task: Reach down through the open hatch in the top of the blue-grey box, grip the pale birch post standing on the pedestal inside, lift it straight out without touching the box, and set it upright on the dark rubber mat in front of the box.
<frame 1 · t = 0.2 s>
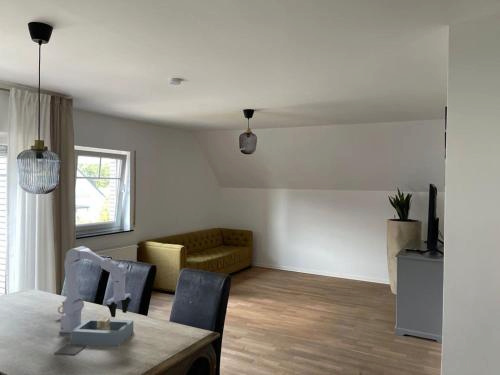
hand: (118, 314, 199), 10 cm above the table, tool pointing down, fingers open, 7 cm apart
teacup with lid: (68, 316, 225), on the table
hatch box: (103, 337, 194), on the table
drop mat: (70, 350, 179), on the table
birch post: (103, 333, 194), point 2 cm above the table, touching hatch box
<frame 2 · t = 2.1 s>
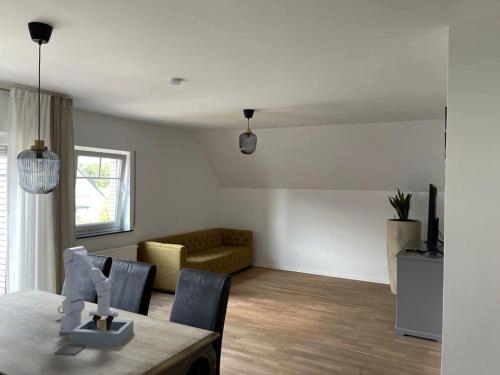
hand: (103, 330, 194), 4 cm above the table, tool pointing down, fingers closed on birch post, 4 cm apart
birch post: (103, 333, 194), point 2 cm above the table, touching gripper, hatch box
everything else where it was.
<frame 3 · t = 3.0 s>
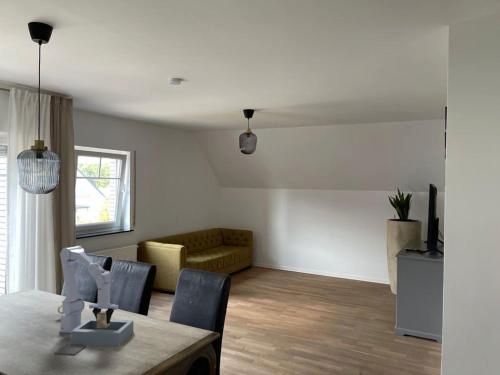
hand: (103, 323, 194), 7 cm above the table, tool pointing down, fingers closed on birch post, 4 cm apart
birch post: (103, 326, 194), point 6 cm above the table, touching gripper
everything else where it was.
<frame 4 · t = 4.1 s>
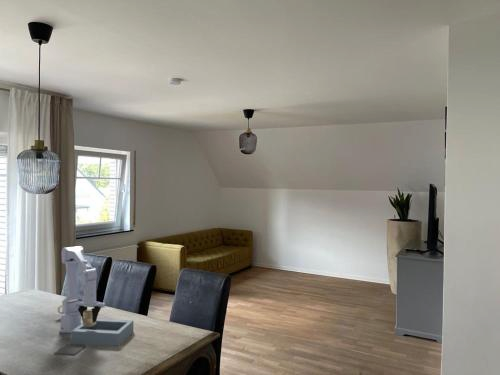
hand: (89, 321, 187), 10 cm above the table, tool pointing down, fingers closed on birch post, 4 cm apart
birch post: (89, 324, 187), point 9 cm above the table, touching gripper
everything else where it was.
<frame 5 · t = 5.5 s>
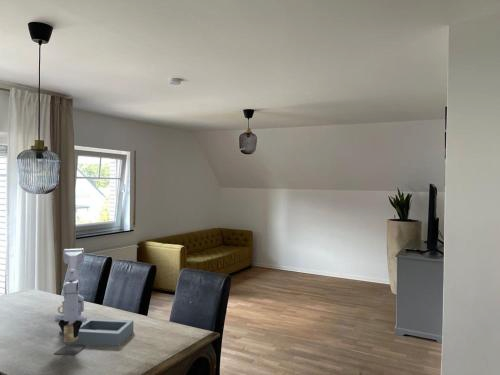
hand: (70, 336, 179), 6 cm above the table, tool pointing down, fingers closed on birch post, 4 cm apart
birch post: (70, 340, 179), point 5 cm above the table, touching gripper
everything else where it was.
when the fingers open (4 cm above the table, at t = 6.5 s): birch post drops 1 cm, resting on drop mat.
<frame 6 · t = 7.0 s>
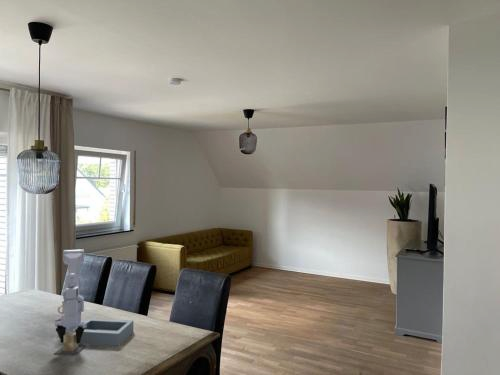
hand: (70, 342, 179), 4 cm above the table, tool pointing down, fingers open, 7 cm apart
birch post: (70, 348, 179), resting on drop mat
everything else where it was.
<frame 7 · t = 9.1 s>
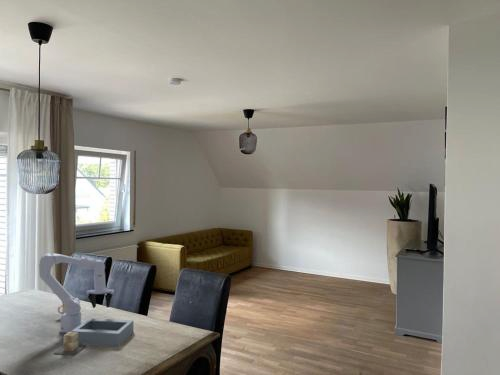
hand: (101, 307, 209), 11 cm above the table, tool pointing down, fingers open, 7 cm apart
nothing on the table moved.
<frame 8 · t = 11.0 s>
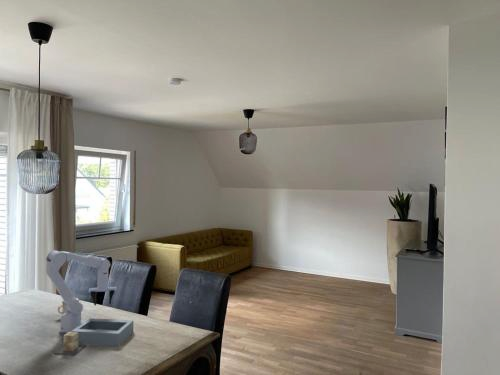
hand: (102, 304, 214), 10 cm above the table, tool pointing down, fingers open, 7 cm apart
nothing on the table moved.
at the end: birch post inside the target area on the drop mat (0.2 cm from its centre), point 0.5 cm above the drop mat's base; birch post tilted 0°; the gripper is holding nothing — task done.
